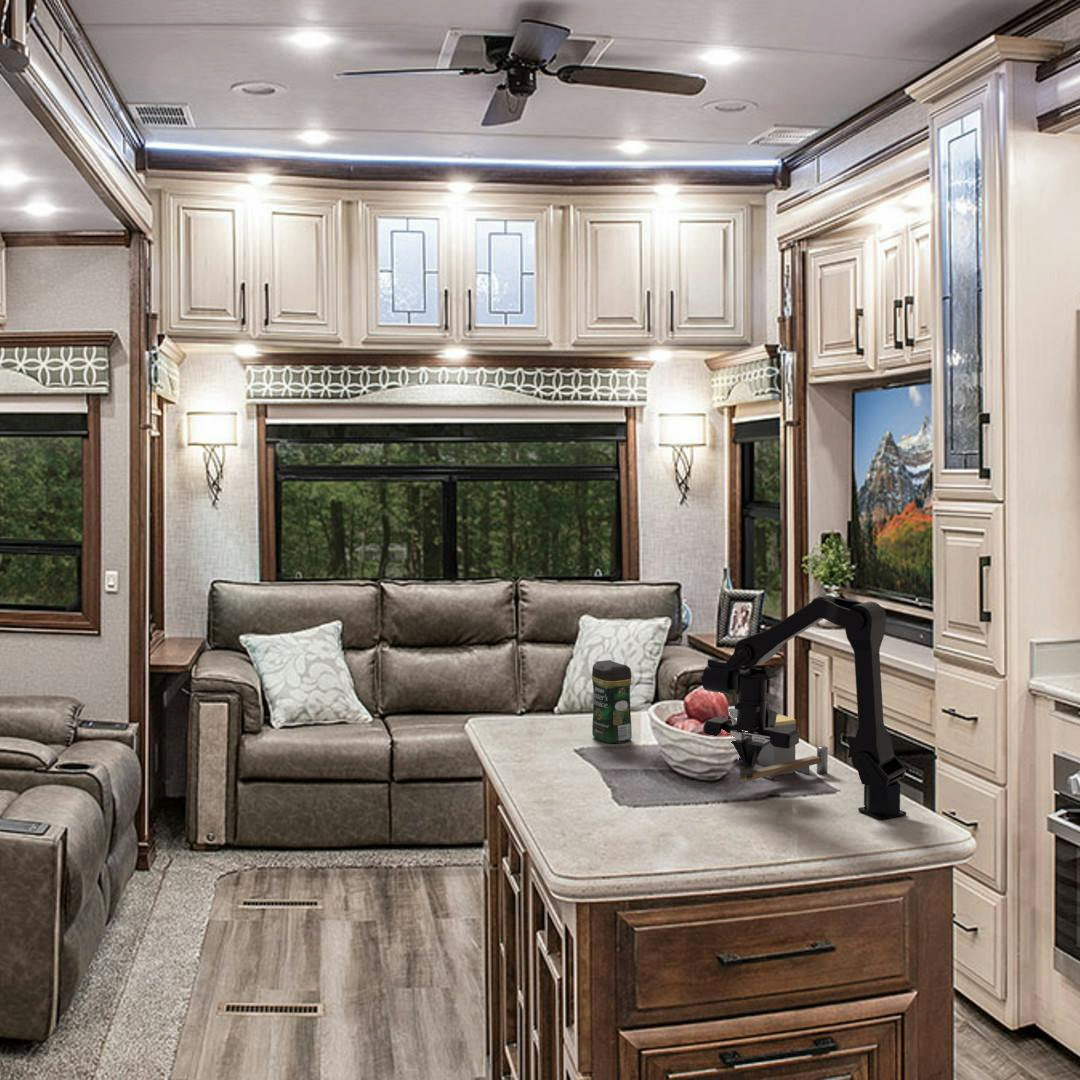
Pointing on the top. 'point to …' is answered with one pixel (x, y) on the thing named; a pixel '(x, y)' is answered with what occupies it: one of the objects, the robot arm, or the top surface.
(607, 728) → the coffee jar
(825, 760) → the hinge post
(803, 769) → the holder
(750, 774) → the bar
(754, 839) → the top surface
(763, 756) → the plug block
